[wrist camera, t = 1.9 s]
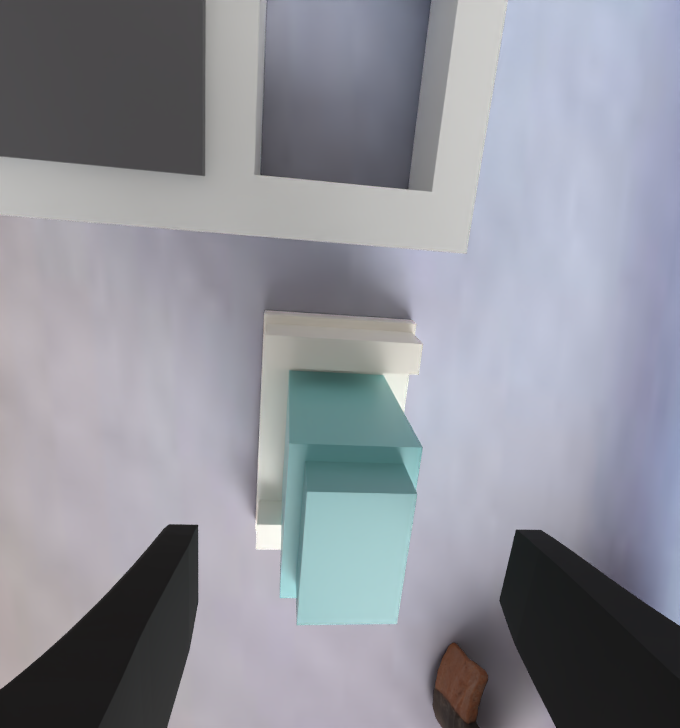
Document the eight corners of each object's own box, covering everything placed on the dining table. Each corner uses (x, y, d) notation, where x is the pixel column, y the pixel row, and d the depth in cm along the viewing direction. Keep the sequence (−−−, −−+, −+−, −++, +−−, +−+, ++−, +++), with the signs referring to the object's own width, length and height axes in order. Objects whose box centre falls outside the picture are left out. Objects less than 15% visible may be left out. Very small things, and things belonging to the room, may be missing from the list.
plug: (282, 488, 18) (278, 640, 12) (289, 370, 16) (289, 472, 10) (369, 489, 18) (410, 638, 12) (383, 375, 17) (438, 476, 11)
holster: (256, 520, 19) (252, 556, 17) (265, 310, 16) (261, 324, 14) (384, 522, 19) (395, 557, 17) (411, 319, 17) (427, 334, 15)
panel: (12, 209, 15) (-60, 211, 12) (-30, -167, 12) (-139, -293, 9) (437, 244, 16) (471, 255, 13) (484, -80, 13) (540, -161, 10)
